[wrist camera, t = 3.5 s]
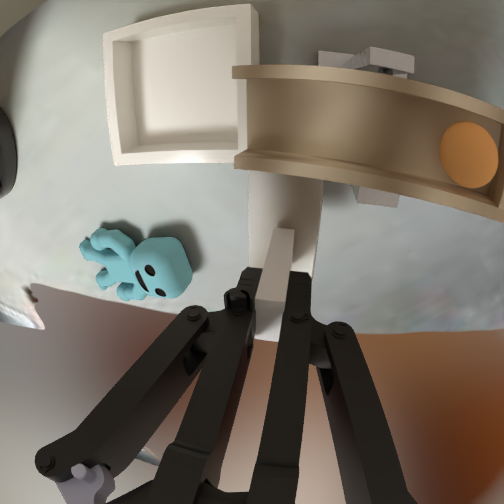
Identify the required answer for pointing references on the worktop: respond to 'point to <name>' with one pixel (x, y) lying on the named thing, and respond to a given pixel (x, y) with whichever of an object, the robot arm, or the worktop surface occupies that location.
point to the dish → (180, 86)
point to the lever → (350, 147)
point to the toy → (139, 264)
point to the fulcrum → (377, 63)
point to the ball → (468, 154)
